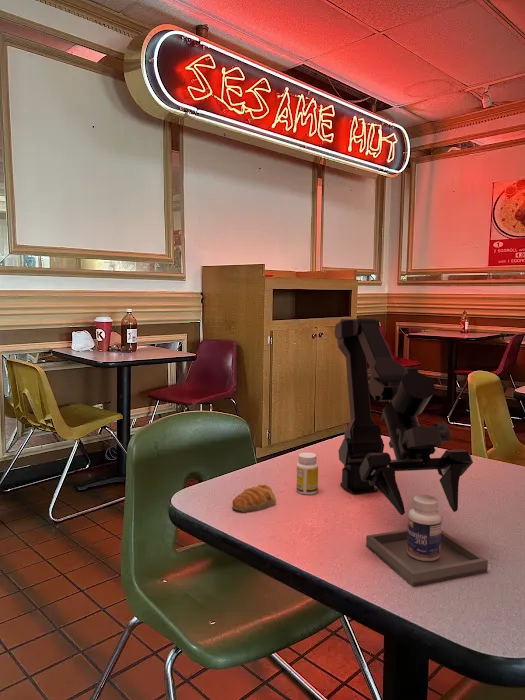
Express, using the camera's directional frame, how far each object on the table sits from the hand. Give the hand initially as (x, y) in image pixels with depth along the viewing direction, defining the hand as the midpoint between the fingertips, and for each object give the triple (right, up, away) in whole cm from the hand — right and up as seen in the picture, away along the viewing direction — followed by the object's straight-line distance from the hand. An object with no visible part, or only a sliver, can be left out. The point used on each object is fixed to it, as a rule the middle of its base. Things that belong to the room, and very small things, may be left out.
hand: (429, 512), depth 90 cm
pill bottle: (0, -8, +2) cm, 8 cm away
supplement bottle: (-17, -5, +33) cm, 38 cm away
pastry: (-29, -6, +25) cm, 39 cm away
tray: (0, -8, +2) cm, 9 cm away
